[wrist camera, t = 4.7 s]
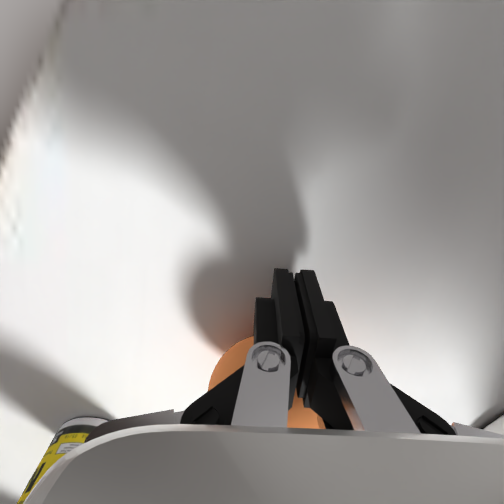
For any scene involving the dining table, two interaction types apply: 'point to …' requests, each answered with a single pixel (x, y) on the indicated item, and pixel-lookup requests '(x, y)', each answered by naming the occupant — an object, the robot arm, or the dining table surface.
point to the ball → (236, 360)
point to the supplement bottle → (62, 447)
